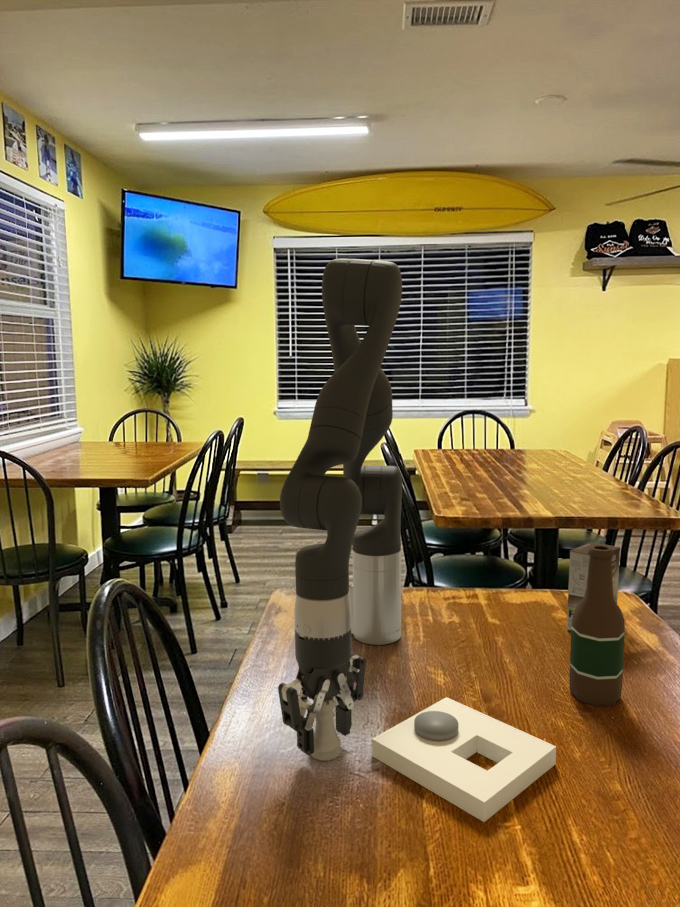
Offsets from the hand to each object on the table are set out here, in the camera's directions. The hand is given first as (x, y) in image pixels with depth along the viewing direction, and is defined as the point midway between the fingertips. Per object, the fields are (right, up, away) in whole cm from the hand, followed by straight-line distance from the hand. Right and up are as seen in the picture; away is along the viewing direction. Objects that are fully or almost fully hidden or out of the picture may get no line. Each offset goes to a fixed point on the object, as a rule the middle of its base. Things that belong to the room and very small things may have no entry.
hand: (325, 741), depth 90 cm
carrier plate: (+18, -2, -2) cm, 19 cm away
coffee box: (+52, +5, +41) cm, 66 cm away
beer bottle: (+42, +1, +15) cm, 45 cm away
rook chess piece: (0, -2, 0) cm, 2 cm away
